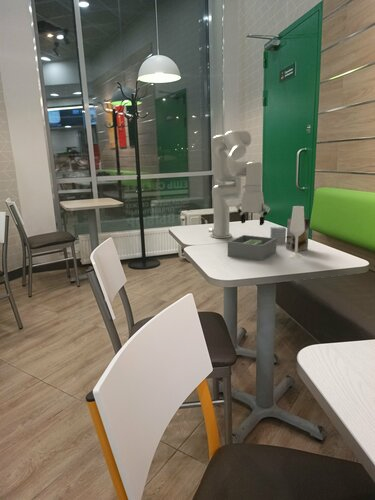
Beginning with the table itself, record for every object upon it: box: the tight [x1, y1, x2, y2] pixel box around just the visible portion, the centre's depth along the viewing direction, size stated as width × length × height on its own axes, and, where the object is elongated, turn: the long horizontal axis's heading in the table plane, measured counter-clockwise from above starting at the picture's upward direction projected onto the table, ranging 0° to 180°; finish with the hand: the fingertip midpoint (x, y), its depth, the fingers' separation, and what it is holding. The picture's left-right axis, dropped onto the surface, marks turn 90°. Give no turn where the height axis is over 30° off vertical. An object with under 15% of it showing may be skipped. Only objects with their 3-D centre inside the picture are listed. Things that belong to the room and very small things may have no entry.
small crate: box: [244, 240, 262, 245], centre depth 176 cm, size 6×10×5 cm, turn 146°
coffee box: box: [285, 217, 310, 252], centre depth 182 cm, size 9×6×16 cm
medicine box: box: [269, 226, 287, 244], centre depth 198 cm, size 8×4×9 cm, turn 84°
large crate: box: [227, 234, 277, 262], centre depth 176 cm, size 18×18×7 cm
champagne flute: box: [288, 205, 305, 259], centre depth 167 cm, size 7×7×24 cm
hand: (252, 223), depth 173 cm, fingers open, 9 cm apart
